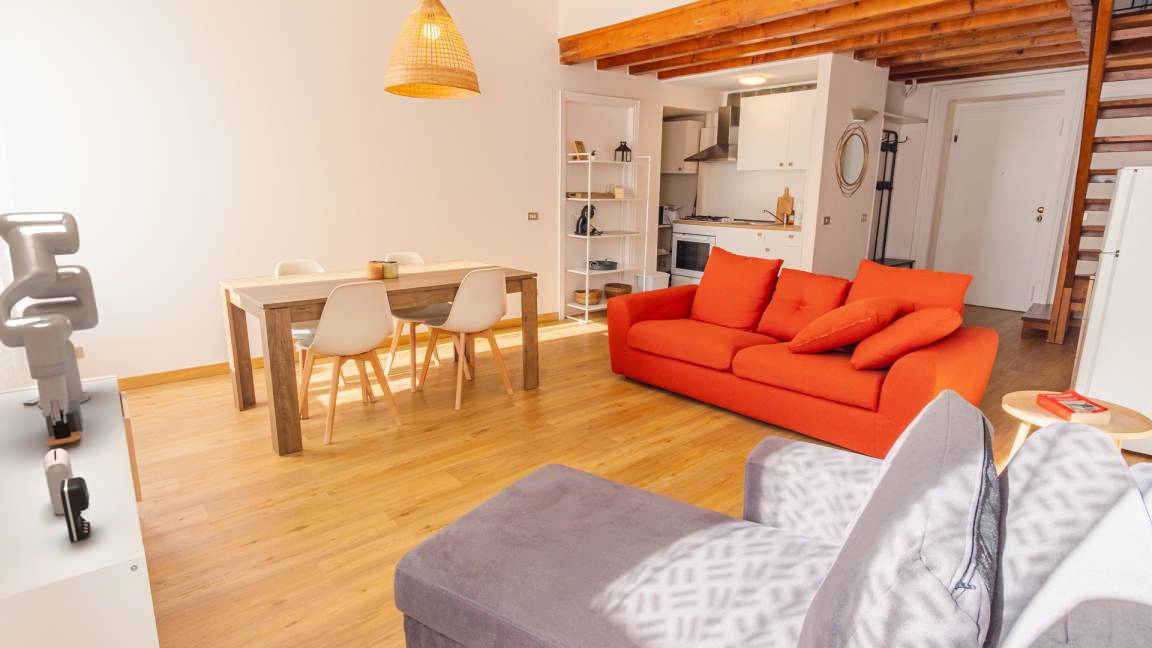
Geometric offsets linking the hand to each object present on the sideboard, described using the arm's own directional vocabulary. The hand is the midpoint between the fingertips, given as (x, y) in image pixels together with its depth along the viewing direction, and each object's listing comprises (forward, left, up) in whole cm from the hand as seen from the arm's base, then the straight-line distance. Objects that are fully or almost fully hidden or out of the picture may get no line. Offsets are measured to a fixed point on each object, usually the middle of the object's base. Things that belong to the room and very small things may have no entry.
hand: (63, 437), depth 160 cm
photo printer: (+33, 0, -4) cm, 34 cm away
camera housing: (-15, 0, -4) cm, 15 cm away
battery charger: (+49, +3, -4) cm, 50 cm away
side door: (-9, 0, -3) cm, 9 cm away
